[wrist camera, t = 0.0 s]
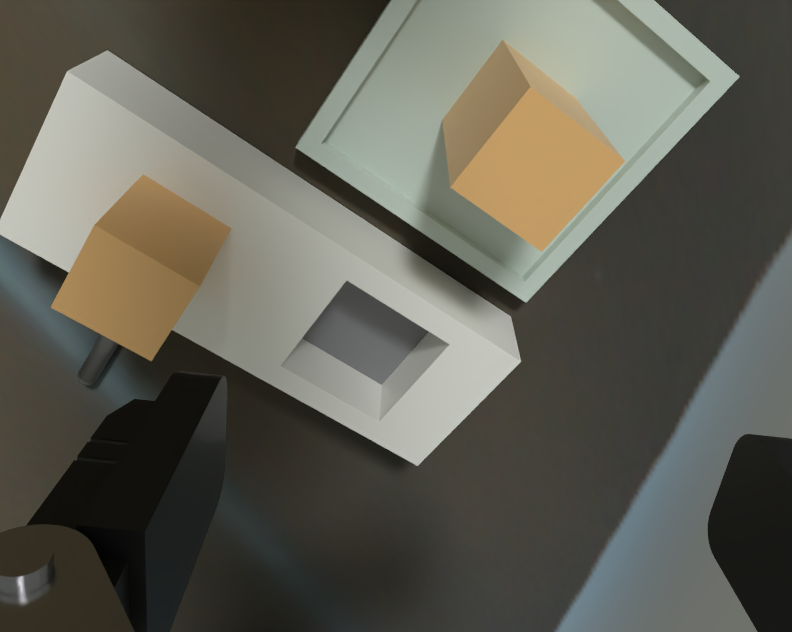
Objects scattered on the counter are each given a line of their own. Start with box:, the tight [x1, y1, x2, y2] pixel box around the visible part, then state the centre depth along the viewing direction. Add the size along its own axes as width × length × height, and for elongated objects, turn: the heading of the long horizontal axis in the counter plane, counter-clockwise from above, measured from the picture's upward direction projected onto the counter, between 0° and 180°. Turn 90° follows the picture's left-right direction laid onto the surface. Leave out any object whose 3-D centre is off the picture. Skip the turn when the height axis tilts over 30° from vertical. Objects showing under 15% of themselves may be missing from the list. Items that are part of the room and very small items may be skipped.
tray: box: [295, 0, 739, 302], centre depth 30 cm, size 13×13×1 cm
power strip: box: [0, 50, 521, 466], centre depth 32 cm, size 16×22×9 cm
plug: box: [442, 40, 625, 252], centre depth 26 cm, size 4×4×8 cm
